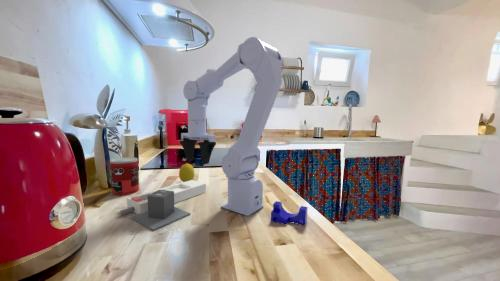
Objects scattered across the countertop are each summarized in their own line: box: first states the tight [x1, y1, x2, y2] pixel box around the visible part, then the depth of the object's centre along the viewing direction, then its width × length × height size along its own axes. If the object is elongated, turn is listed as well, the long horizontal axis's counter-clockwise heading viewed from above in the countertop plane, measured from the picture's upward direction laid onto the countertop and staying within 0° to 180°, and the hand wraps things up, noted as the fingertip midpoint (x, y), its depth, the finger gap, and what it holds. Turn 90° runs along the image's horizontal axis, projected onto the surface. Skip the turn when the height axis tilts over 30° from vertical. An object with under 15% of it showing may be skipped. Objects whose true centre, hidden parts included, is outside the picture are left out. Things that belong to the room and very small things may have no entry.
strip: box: [119, 179, 207, 216], centre depth 64 cm, size 25×7×4 cm, turn 144°
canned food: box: [109, 156, 140, 196], centre depth 71 cm, size 8×8×11 cm
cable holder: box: [270, 200, 308, 226], centre depth 52 cm, size 8×4×4 cm, turn 64°
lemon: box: [178, 162, 196, 183], centre depth 80 cm, size 6×6×8 cm
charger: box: [148, 189, 175, 219], centre depth 54 cm, size 4×4×6 cm
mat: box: [130, 206, 191, 232], centre depth 54 cm, size 10×10×1 cm
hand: (197, 162), depth 70 cm, fingers open, 7 cm apart
